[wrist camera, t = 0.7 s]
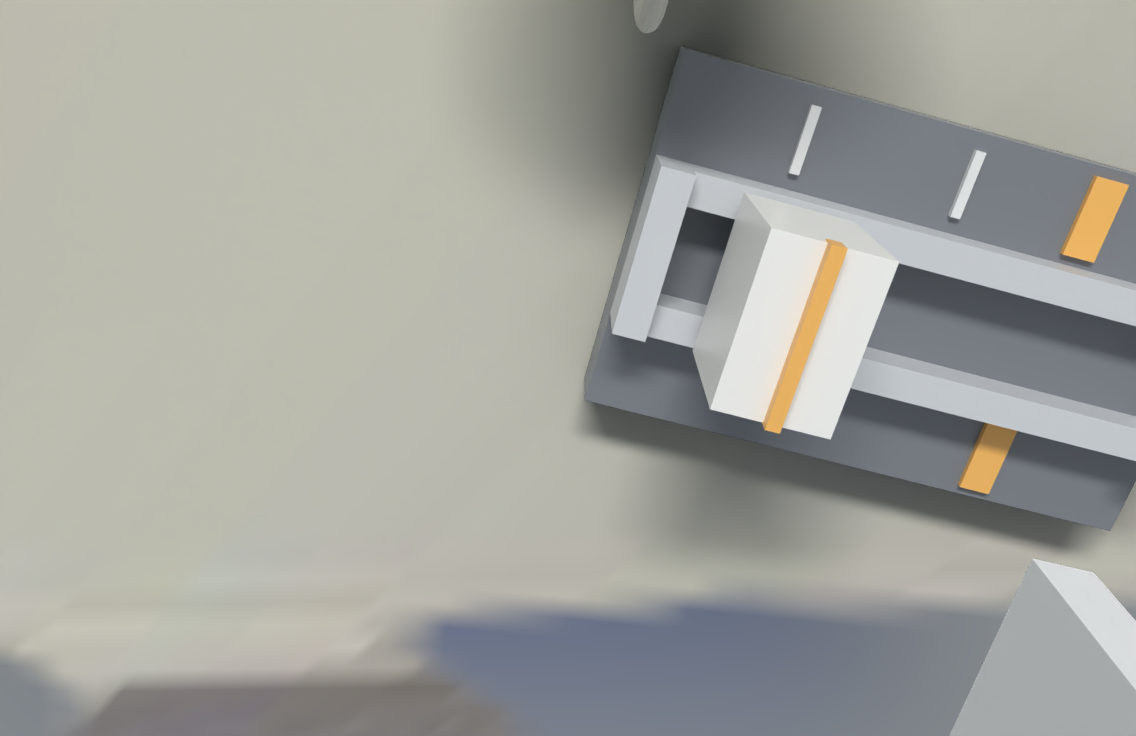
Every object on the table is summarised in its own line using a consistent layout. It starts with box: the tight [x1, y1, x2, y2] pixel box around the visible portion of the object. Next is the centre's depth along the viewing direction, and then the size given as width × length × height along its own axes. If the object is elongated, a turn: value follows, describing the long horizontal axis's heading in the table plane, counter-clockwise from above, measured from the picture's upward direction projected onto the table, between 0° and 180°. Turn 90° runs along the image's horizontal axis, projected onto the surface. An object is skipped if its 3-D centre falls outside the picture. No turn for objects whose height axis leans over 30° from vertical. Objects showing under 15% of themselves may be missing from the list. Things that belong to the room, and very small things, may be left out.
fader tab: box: [693, 192, 899, 440], centre depth 28 cm, size 3×5×6 cm, turn 165°
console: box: [585, 46, 1136, 531], centre depth 32 cm, size 18×11×4 cm, turn 75°
